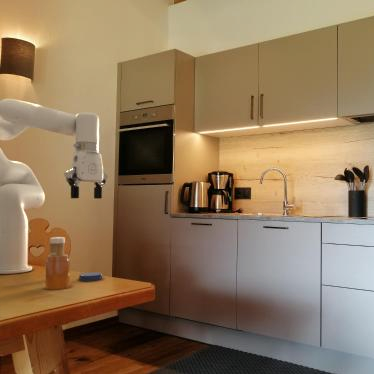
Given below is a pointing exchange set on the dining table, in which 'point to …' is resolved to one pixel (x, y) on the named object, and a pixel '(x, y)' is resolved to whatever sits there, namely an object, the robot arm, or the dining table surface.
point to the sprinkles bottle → (57, 245)
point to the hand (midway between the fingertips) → (86, 198)
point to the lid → (90, 276)
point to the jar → (57, 271)
